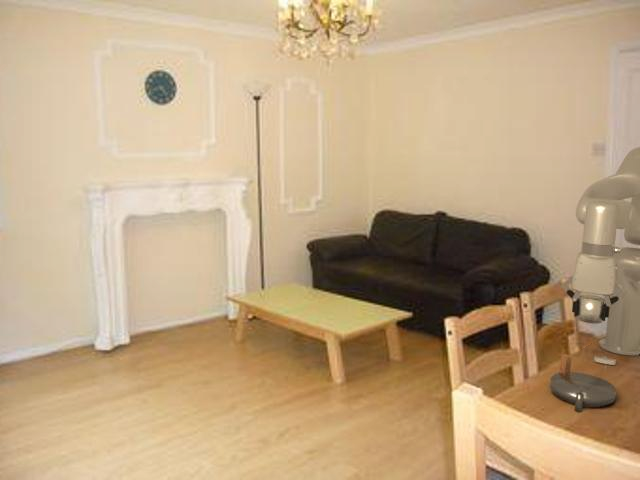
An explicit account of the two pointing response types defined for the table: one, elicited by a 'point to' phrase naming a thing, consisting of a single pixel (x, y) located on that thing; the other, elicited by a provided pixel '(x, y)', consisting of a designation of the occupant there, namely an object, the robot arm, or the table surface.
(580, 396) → the dial pointer
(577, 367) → the table surface
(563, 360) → the turntable
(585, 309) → the cover
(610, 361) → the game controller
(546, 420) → the table surface
